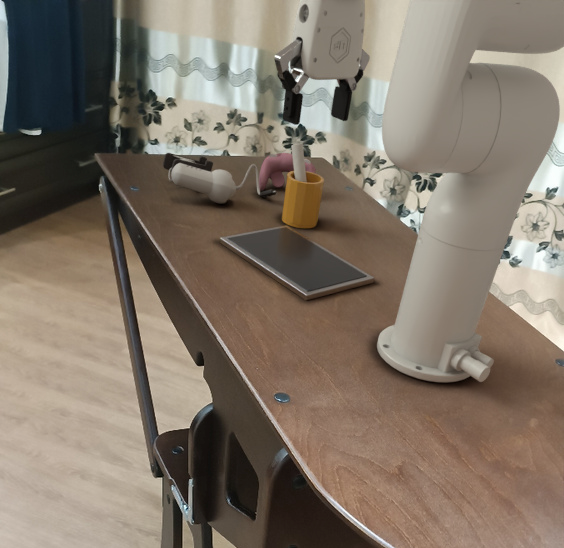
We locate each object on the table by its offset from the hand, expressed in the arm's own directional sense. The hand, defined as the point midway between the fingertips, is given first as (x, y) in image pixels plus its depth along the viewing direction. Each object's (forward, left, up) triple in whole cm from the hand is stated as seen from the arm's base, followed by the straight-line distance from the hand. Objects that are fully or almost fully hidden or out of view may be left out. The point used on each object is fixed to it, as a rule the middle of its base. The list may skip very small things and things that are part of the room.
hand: (315, 120), depth 106 cm
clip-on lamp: (+15, +6, -16) cm, 22 cm away
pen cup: (0, 0, -15) cm, 15 cm away
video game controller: (+12, -7, -16) cm, 21 cm away
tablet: (-12, +11, -15) cm, 22 cm away
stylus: (-1, 0, -15) cm, 15 cm away
